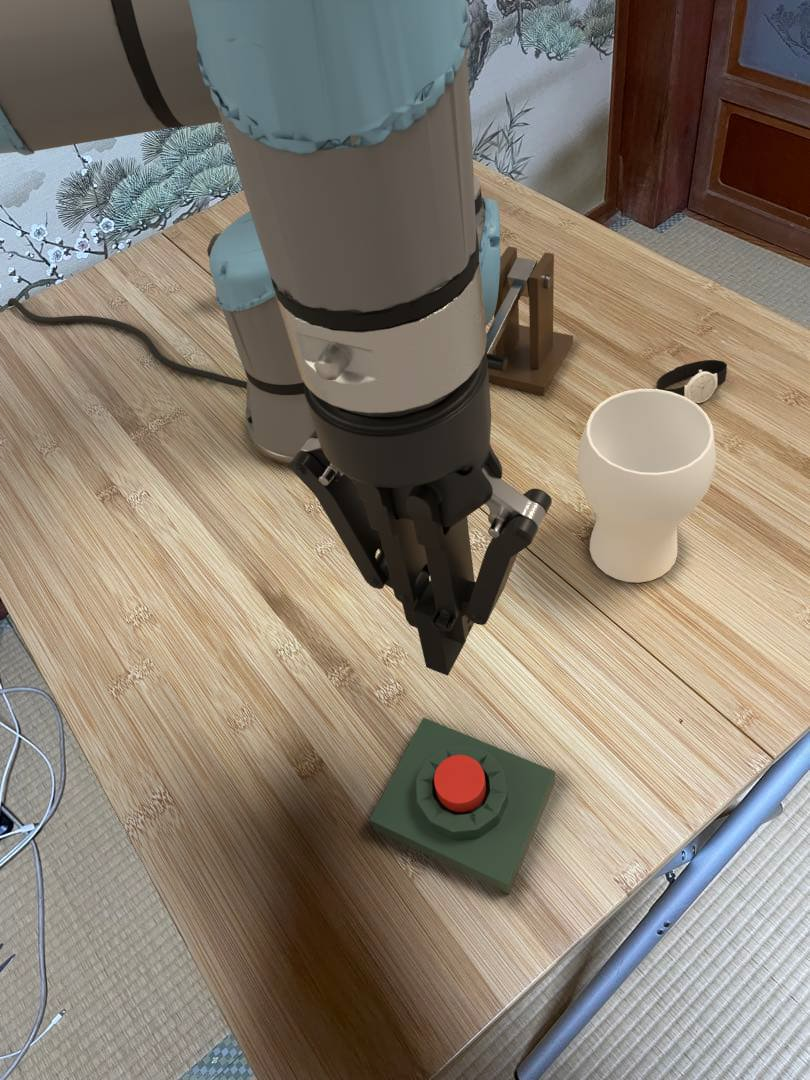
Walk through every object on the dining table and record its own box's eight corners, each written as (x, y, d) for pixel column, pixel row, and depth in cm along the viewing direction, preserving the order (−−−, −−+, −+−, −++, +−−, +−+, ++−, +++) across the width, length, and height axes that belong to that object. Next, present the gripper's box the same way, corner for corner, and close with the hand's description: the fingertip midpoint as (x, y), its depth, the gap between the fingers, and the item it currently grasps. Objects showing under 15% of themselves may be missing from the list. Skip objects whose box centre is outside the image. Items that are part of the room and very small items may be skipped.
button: (428, 800, 60) (425, 791, 59) (449, 757, 62) (447, 747, 61) (473, 820, 59) (472, 811, 57) (493, 776, 61) (492, 766, 59)
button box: (373, 830, 63) (365, 811, 60) (426, 729, 67) (420, 706, 64) (509, 895, 59) (507, 878, 56) (555, 782, 63) (555, 761, 60)
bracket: (543, 395, 90) (543, 294, 80) (476, 379, 93) (467, 280, 83) (573, 344, 94) (576, 243, 84) (507, 330, 97) (503, 231, 87)
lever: (503, 378, 81) (500, 362, 79) (457, 367, 83) (453, 352, 81) (551, 279, 86) (550, 262, 84) (506, 272, 88) (504, 254, 85)
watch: (669, 417, 85) (674, 390, 83) (644, 390, 88) (647, 363, 85) (734, 391, 86) (741, 364, 84) (708, 365, 89) (713, 338, 87)
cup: (667, 614, 71) (691, 499, 59) (553, 569, 76) (555, 454, 64) (711, 527, 76) (741, 405, 64) (602, 490, 81) (612, 369, 69)
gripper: (208, 383, 34) (327, 666, 52) (507, 467, 29) (521, 746, 47) (303, 275, 37) (383, 575, 56) (582, 333, 33) (568, 640, 51)
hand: (446, 653), depth 52 cm, fingers closed
